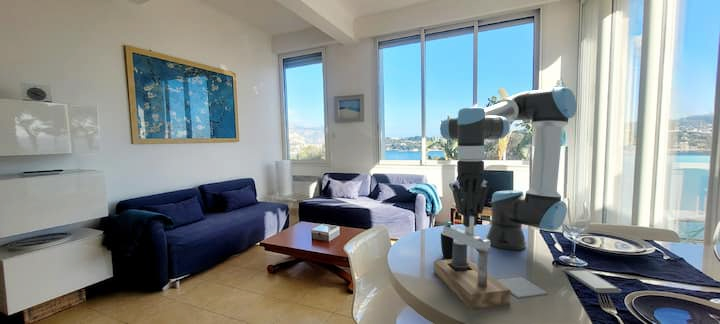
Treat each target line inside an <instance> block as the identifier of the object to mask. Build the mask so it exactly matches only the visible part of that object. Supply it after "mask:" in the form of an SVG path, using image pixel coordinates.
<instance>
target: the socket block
mask: <svg viewBox="0 0 720 324" xmlns="http://www.w3.org/2000/svg"><path fill="white" fill-rule="evenodd" d="M488 254H489V253H480V252H478V260H477V264H478V265H477V264H476V263H474V262H473V261H471V260H470V259H469V258H467V262H468V268H467V271H458V272H456V271H455V270H453V269H452V266H451V261H452V260H453V259H447V260H445V259H439V260H434V261H433V273H435V275H436V276H437V277H439V279H441V281H442V282H443V283H444V284H445V285H446V286H447V287H449V289H451V290H452V292H453V293H454V294H456V296H458V298H460V299H461V301H462V302H463V303H464V304H465V305H466V306H467V307H469V309H470V310H472V309H474V310H475V309H480V308H481V309H482V308H488V307H489V308H490V307H495V306H497V307H498V306H502V305H509V304H511V295H512V294H511V290H510V289H509V288H508V287H506V286H505V285H503V284H502V283H501V282H499V281H498V280H499V279H497V278H495V277H494V276H492V275H491V274H489V273H488V260H489V257H488V256H489V255H488Z"/></svg>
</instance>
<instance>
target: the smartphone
mask: <svg viewBox="0 0 720 324" xmlns="http://www.w3.org/2000/svg"><path fill="white" fill-rule="evenodd" d="M562 271H563V272H564V273H566V274H567V275H569V276H570V277H572V278H573V279H575V280H576V281H578V282H579V283H581V284H582V285H585V287H587V288H589V289H590V290H592V291H593V292H595V293H596V294H621V293H622V289H621V288H619V287H617V286H615V285H614V284H612V283H611V282H608V281H607V280H606V279H603V278H601V277H600V276H599V275H597V274H595V273H593V272H591V271H590V270H588V269H586V268H584V267H564V268H563V270H562Z"/></svg>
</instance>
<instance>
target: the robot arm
mask: <svg viewBox="0 0 720 324" xmlns="http://www.w3.org/2000/svg"><path fill="white" fill-rule="evenodd" d="M571 89H572V88H569V87H567V86H557V87H556V86H554V87H548V88H543V89H542V88H541V89H537V90H528V91H524V92H520V93H517V94H514V95H511V96H509V97H506V98H503V99H501V100H500V101H498V103H496V104H493V105H491V106H488V107H479V106H478V107H475V106H474V107H464V108H460V109H459V110H458V111H457V113H458V114H457V117H455V118H452V117H450V118H447V119H444V120H442V122H441V123H440V125H439V131H440V135H441V137H442V138H444V139H445V140H450V141H455V140H457V159H458V161H457V162H456V164H457V165H456V167H457V168H456V171H457V177H456V179H455V181H453V183H449V184H448V185H449V188H450V189H451V191H452V196H453V200H454V203H455V209H456V212H457V214H459V215H462V217H463V219H462V222H463V223H462V225H463V226H465V227H464V229H465V230H464V231H466V232H468V233H470V234H473V235H475V226H477V218H478V217H479V216H480V214H483V211H484V208H485V204H486V200H487V195H488V192H489V189H490V188H491V186H492V183H491V182H489V181H487V180H485V177H484V172H485V161H484V159H485V141H486V140H493V141H494V140H495V141H497V140H502V139H503V138H505V137H507V136H508V134H509V132H510V128H511V125H510V123H511V122H515V121H531V125H533V126H534V127H535V136H534V138H535V139H534V146H533V147H534V148H533V158H532V166H531V167H532V171H531V180H530V188H529V189H528V190H526V191H525V195H524V192H523V191H522V190H516V189H515V190H514V189H513V190H500V191H499V190H498V191H495V192H494V193H492V196H491V221H490V226H489V229H488V232H487V234H486V239H488V240H490V241H491V243H490V246H491V245H492V247H494V248H497V249H500V250H501V249H502V250H506V251H507V250H509V251H520V250H525V248H526V245H527V244H526V239H525V235H524V232H523V227H522V225H524V226H527V227H528V226H529V227H531V228H536V229H540V230H542V231H543V230H545V231H550V232H554V231H557V230H558V229H560V228H561V226H562V225H563V224H564V222H565V220H566V217H567V213H568V207H567V204H566V202H564V201H563V200H562V195H561V194H560V193H559V192H558V182H559V181H558V180H559V171H560V159H561V149H562V140H563V139H562V138H563V128H564V127H565V126H566V125H568V124H569V119H571V118H574V117H575V115H576V112H577V101H576V100H577V99H576V96H575V94H574V92H573V90H571ZM460 188H461V189H460Z"/></svg>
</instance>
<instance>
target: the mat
mask: <svg viewBox="0 0 720 324" xmlns="http://www.w3.org/2000/svg"><path fill="white" fill-rule="evenodd" d="M497 280H498V281H499V282H501V283H502V284H503V285H505V286H506V287H508V288H509V289H510V290H511V294H510V295H512V296H514V297H515V298H517V299H522V298H528V297H537V296H542V295H543V296H544V295H548V292H547V291H545V290H543V289H542V288H540V287H539V286H537V285H536V284H534V283H532V282H531V281H529V280H527V279H526V278H524V277H522V276H518V277H510V278H501V279H500V278H499V279H497Z"/></svg>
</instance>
